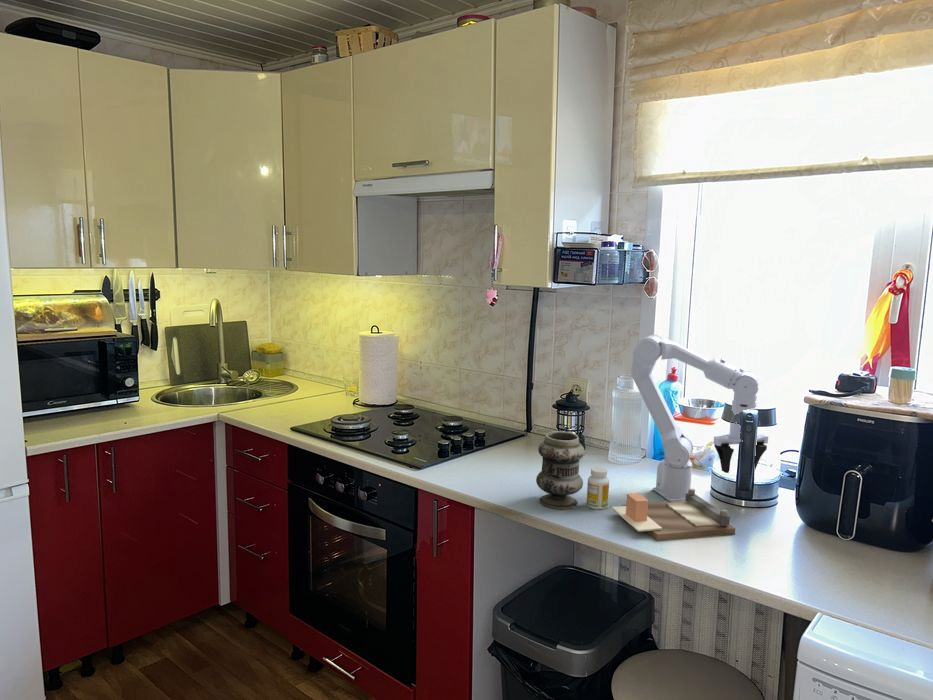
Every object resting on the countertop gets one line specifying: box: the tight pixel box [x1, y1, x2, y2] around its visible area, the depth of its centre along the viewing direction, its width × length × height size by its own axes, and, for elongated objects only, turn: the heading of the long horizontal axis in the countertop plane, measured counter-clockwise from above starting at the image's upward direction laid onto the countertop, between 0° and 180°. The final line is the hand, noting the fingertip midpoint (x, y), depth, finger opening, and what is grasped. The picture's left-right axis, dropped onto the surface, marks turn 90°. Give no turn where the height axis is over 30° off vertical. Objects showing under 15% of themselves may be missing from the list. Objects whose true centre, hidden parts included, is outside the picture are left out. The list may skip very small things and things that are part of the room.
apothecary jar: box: [535, 430, 586, 510], centre depth 176 cm, size 12×12×18 cm
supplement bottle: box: [586, 466, 610, 510], centre depth 175 cm, size 5×5×10 cm
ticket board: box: [621, 488, 736, 542], centre depth 166 cm, size 18×20×5 cm
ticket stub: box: [611, 492, 662, 532], centre depth 163 cm, size 14×6×5 cm, turn 13°
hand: (738, 470), depth 176 cm, fingers open, 7 cm apart
